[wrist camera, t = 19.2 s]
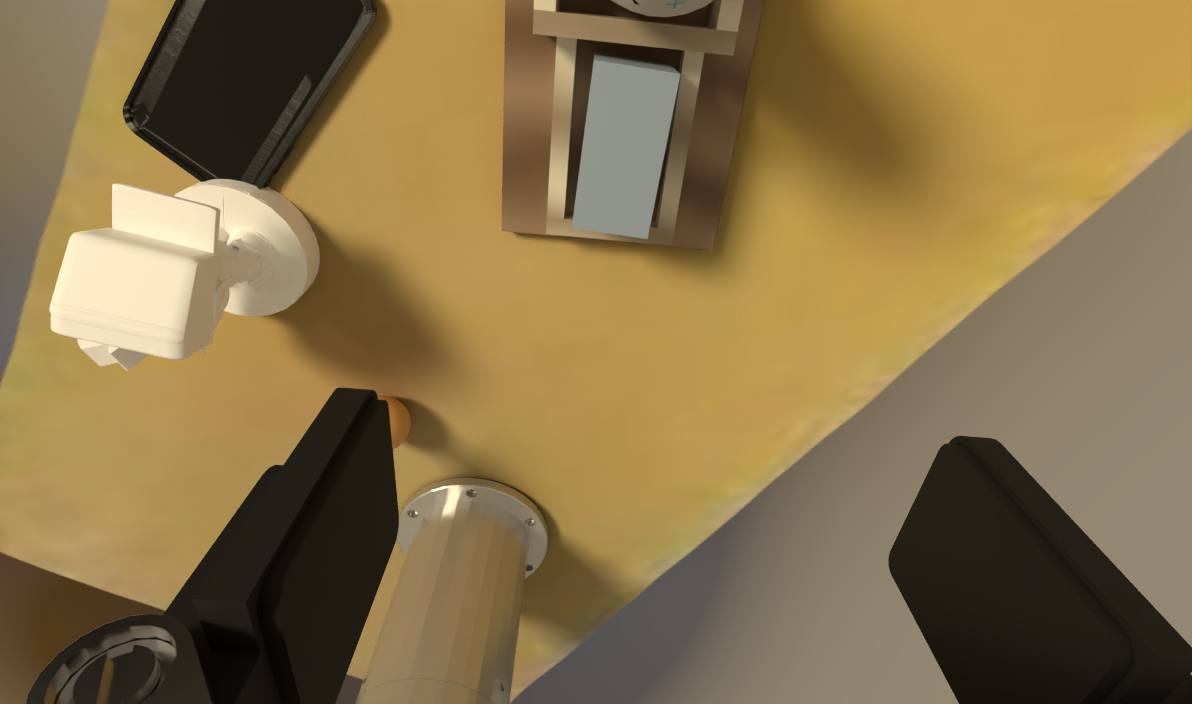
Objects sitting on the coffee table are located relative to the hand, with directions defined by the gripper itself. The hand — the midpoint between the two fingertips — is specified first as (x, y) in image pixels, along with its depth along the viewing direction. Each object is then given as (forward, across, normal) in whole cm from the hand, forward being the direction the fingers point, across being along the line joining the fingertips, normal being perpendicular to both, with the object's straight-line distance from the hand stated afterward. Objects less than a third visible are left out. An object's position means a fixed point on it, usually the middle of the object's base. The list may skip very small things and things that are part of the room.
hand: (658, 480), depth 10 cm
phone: (+29, +20, -2) cm, 36 cm away
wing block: (+27, 0, -1) cm, 27 cm away
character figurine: (+29, +22, +8) cm, 37 cm away
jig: (+28, 0, -5) cm, 29 cm away
